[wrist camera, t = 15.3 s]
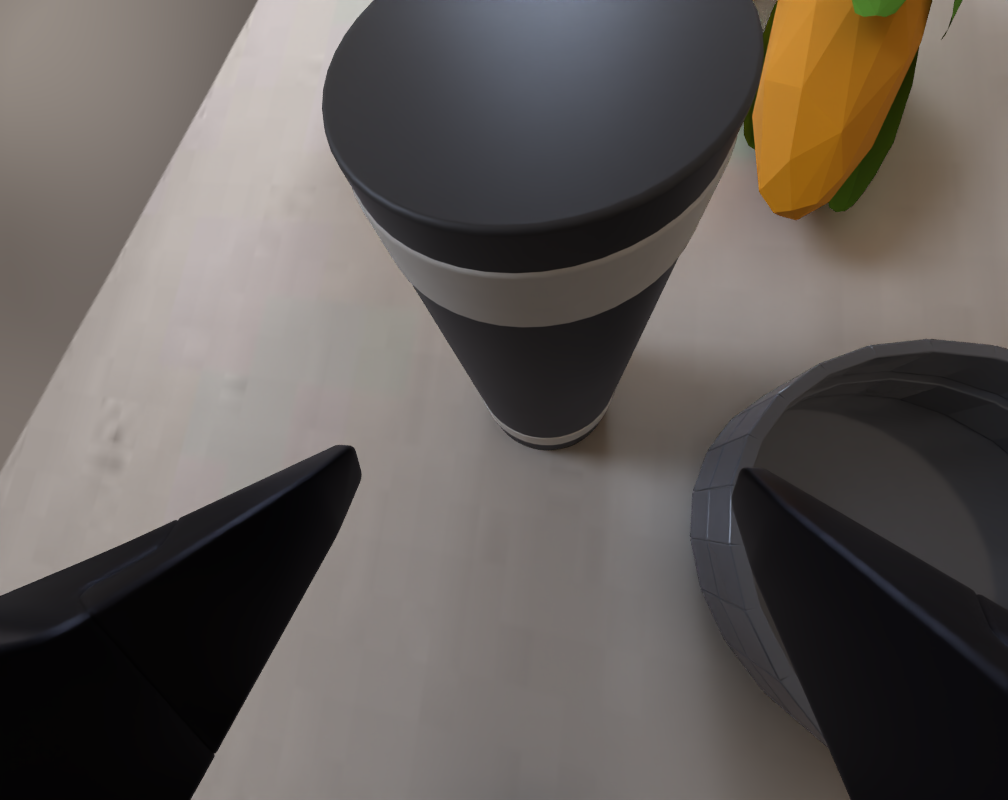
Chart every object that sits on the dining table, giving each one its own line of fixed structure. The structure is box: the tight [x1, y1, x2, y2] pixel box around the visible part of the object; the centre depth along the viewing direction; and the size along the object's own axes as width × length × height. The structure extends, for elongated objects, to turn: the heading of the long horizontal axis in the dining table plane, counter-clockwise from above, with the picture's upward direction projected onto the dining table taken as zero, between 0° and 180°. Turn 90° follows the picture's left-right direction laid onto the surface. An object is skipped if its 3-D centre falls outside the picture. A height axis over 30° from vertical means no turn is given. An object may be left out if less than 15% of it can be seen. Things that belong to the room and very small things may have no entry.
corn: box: [744, 0, 962, 220], centre depth 17 cm, size 7×8×20 cm
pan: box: [690, 339, 1008, 747], centre depth 12 cm, size 14×14×4 cm
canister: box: [322, 0, 764, 450], centre depth 11 cm, size 6×6×14 cm
